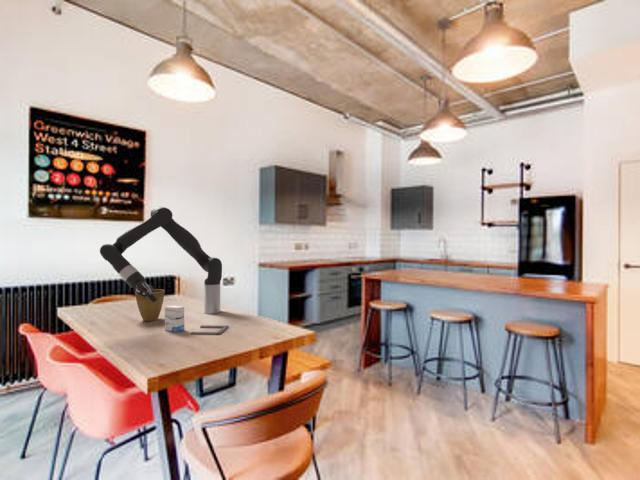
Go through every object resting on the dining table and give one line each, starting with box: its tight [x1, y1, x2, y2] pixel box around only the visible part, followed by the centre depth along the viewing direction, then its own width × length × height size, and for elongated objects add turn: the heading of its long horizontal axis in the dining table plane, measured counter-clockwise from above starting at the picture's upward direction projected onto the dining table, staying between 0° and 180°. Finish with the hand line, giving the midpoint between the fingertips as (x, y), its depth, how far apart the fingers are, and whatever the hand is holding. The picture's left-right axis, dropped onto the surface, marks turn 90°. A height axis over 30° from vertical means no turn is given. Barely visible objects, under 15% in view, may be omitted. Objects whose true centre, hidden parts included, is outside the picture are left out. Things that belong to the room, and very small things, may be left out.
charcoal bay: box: [190, 324, 229, 336], centre depth 178 cm, size 14×14×1 cm
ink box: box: [164, 305, 185, 333], centre depth 179 cm, size 8×5×12 cm, turn 65°
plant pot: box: [134, 288, 165, 322], centre depth 200 cm, size 15×15×16 cm
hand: (155, 301), depth 179 cm, fingers closed
